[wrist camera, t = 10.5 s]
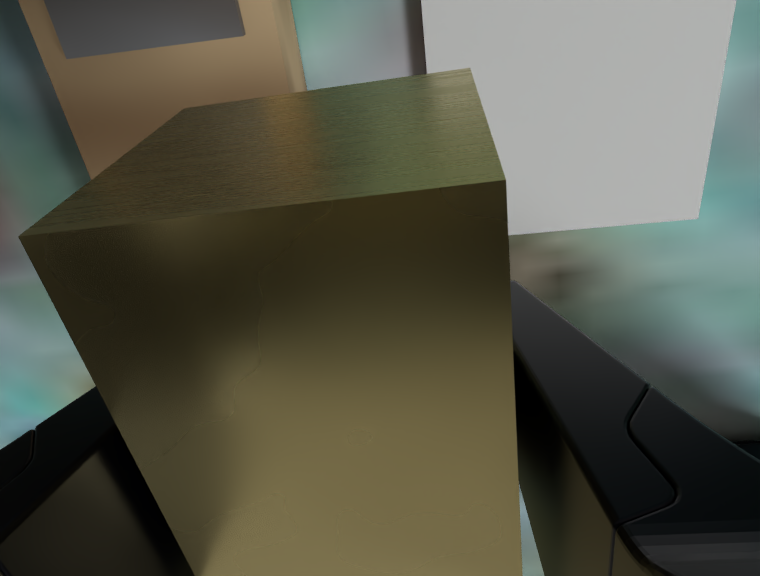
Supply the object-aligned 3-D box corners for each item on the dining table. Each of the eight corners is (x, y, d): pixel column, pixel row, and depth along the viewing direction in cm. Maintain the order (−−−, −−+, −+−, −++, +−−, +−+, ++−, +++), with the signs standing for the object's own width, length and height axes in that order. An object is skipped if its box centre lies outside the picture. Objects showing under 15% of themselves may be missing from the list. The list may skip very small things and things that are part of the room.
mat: (691, 211, 21) (697, 218, 21) (440, 233, 22) (440, 240, 22) (763, -222, 15) (776, -227, 14) (408, -164, 16) (407, -166, 15)
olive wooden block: (495, 444, 11) (525, 666, 8) (294, 455, 12) (243, 668, 8) (470, 67, 8) (506, 179, 4) (183, 108, 8) (18, 236, 5)
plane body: (358, 363, 26) (343, 473, 21) (204, 373, 27) (154, 481, 21) (225, -343, 14) (120, -486, 9) (-39, -289, 15) (-272, -392, 10)
